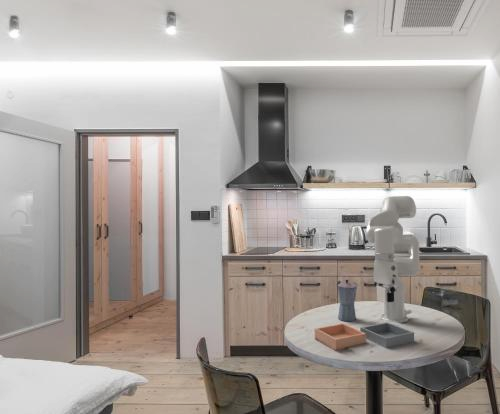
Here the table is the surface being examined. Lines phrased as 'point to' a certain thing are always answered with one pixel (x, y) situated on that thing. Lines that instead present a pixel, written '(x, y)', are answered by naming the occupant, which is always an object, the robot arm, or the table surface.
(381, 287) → the stone block
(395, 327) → the bin
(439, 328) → the table surface
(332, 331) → the bin
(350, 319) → the moka pot
